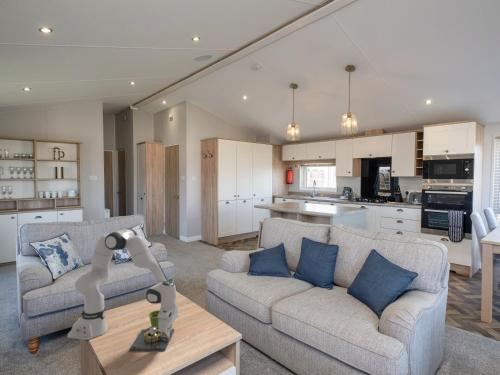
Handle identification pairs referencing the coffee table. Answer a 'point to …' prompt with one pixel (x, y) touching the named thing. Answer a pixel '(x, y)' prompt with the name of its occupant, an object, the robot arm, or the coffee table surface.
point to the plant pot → (154, 318)
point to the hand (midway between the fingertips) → (169, 331)
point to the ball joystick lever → (156, 336)
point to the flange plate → (155, 346)
